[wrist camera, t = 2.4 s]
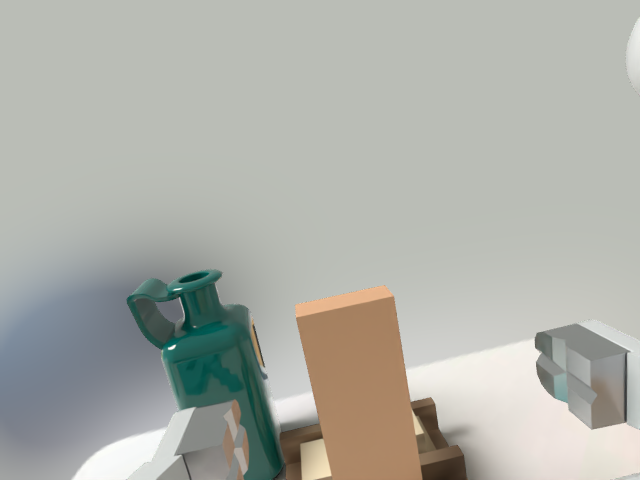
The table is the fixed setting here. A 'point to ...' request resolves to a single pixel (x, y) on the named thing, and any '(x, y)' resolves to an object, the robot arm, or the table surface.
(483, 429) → the table surface
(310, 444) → the offcut stack
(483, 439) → the table surface
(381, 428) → the panel
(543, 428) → the table surface
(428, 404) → the rack
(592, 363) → the robot arm
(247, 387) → the pitcher
